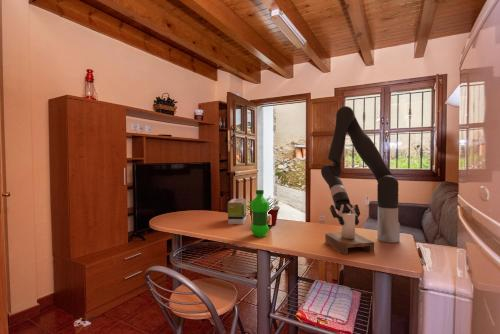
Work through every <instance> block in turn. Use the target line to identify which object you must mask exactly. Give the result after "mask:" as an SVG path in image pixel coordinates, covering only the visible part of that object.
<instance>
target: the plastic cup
mask: <svg viewBox="0 0 500 334" xmlns="http://www.w3.org/2000/svg"><path fill="white" fill-rule="evenodd" d="M274 206H275V207H274V208H273V209H271V210H270V211H269V212H268V214H271V215H272V226H271V227H275V226H276V225H277V220H278V214H279V209H280V206H278V205H274Z"/></svg>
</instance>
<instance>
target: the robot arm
mask: <svg viewBox="0 0 500 334" xmlns="http://www.w3.org/2000/svg"><path fill="white" fill-rule="evenodd" d="M335 117H336V118H335V127H334V133H333V136H332V140H331V144H330V147H329V151H328V156H327V160H328V161H330V162H332V165H331V164H324V165H322V166H321V170H320V174H321V176H322V178H323V179H324V181H325V182H326V184H327V185H328V188H329V191H330V195H331V198H332V201H333V204H334V205H333V204H331V205H330V206H329V211H330V213H331V215H332V217H333V218H334V219H337V220H338V223H339V225H340V226H342V225H344V221H343V218H342V213H354V214H355V226H358V225H359V223H360V220H359V216H360V215H361V212H360V207H359V204H355V205H354V204H352V203H351V201H350V198H349V196H348V193H347V190H346V189H345V187H344V183H343V181H342V179H341V178H340V176H341V173H342V157H343V152H344V148H345V142H346V138H347V137H346V136H347V135H348V137H349V138H350V141H351V144H352V145H353V147H354V150H355V151H356V153H357V154H358V156H359V157H360V160H362V161H363V163H364V164H365V166H366V167H367V168H368V169H369V170H370V171H371V172H372V174H373V176H374V178H375V180H376V182H377V186H376V187H377V190H376V191H377V193H376V194H377V195H376V197H377V240H378V241H379V242H383V243H389V244H391V243H392V244H394V243H398V242H400V239H401V238H400V236H401V235H400V234H401V224H400V222H399V181H398V179H397V178H396V177H395V176H394V174H393V173H392V172H391V171H390V169H389V168H388V167H387V165H386V164H385V162H384V159H383V157H382V155H381V153H380V152H379V150H378V148H377V147H376V144H375V143H374V142H373V140H372V139H371V137H370V136H369V135H368V134H367V133H366V132H365V130H364V129H363V128H362V127H361V125H360V123H359V122H358V120H357V118H356V114H355V112H354V109H352V108H351V107H350V106H347V105H346V106H342V107H340V108H338V110H337V112H336V114H335ZM336 210H337V211H338V212H337V211H336Z"/></svg>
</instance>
